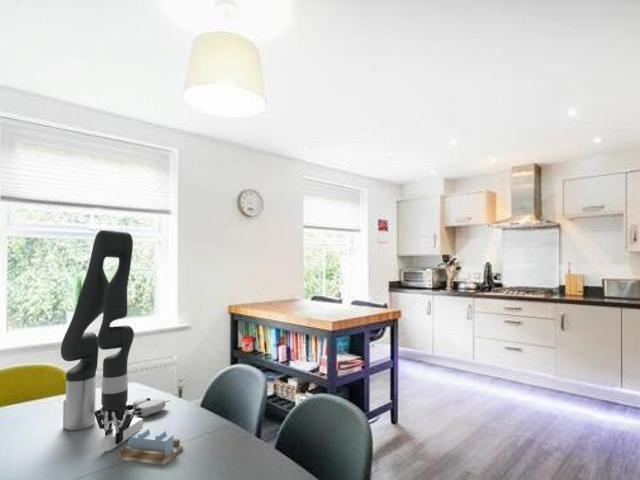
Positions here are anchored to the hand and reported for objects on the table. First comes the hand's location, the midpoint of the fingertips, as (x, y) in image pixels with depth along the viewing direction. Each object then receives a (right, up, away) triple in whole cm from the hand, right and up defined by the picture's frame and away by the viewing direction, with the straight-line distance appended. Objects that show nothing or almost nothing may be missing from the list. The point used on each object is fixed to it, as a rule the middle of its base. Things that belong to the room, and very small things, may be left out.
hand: (113, 442), depth 125 cm
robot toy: (-2, -3, +28) cm, 28 cm away
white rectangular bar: (+1, -1, +4) cm, 4 cm away
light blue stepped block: (+14, -1, -4) cm, 15 cm away
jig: (+14, -2, -4) cm, 15 cm away
